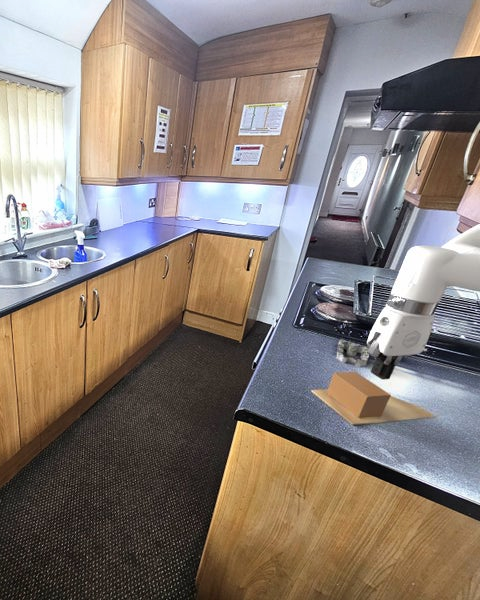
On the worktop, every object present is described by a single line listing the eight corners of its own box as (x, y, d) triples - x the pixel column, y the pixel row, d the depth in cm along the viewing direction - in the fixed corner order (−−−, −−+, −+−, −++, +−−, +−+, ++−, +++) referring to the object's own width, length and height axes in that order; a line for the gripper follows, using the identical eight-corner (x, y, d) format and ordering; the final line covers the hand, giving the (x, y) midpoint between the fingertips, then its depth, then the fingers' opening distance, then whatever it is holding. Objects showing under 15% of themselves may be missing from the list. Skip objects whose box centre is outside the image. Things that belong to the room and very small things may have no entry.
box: (333, 372, 81) (326, 392, 83) (367, 396, 73) (358, 418, 75) (355, 371, 82) (347, 391, 84) (391, 395, 73) (381, 416, 76)
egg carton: (364, 371, 93) (369, 359, 91) (332, 361, 98) (336, 350, 96) (366, 355, 100) (371, 344, 99) (337, 347, 105) (341, 336, 103)
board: (385, 385, 87) (386, 384, 87) (436, 418, 76) (436, 416, 76) (311, 391, 84) (311, 390, 84) (352, 425, 73) (353, 423, 73)
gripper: (398, 312, 65) (366, 387, 72) (461, 310, 67) (424, 383, 74) (364, 298, 72) (337, 368, 79) (422, 296, 74) (391, 365, 81)
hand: (379, 375), depth 77 cm, fingers closed
